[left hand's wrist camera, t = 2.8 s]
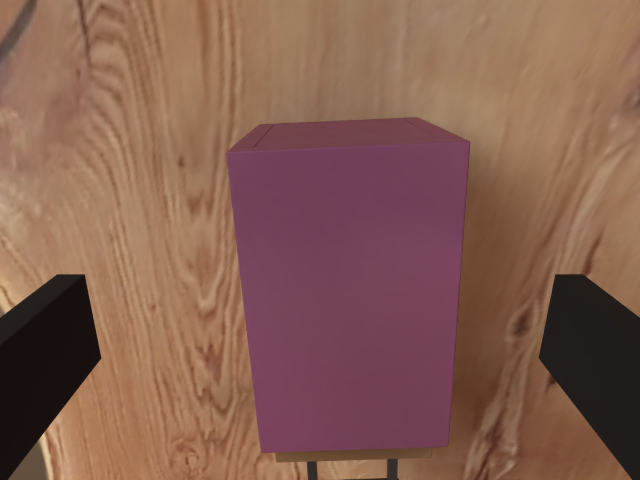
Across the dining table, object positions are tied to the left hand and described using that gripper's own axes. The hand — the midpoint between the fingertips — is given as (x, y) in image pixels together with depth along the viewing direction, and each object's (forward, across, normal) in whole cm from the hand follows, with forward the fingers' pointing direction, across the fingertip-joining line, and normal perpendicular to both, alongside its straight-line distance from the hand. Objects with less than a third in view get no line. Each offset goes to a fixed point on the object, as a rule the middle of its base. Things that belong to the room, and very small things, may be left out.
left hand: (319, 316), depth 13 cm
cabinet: (+18, +2, -5) cm, 19 cm away
